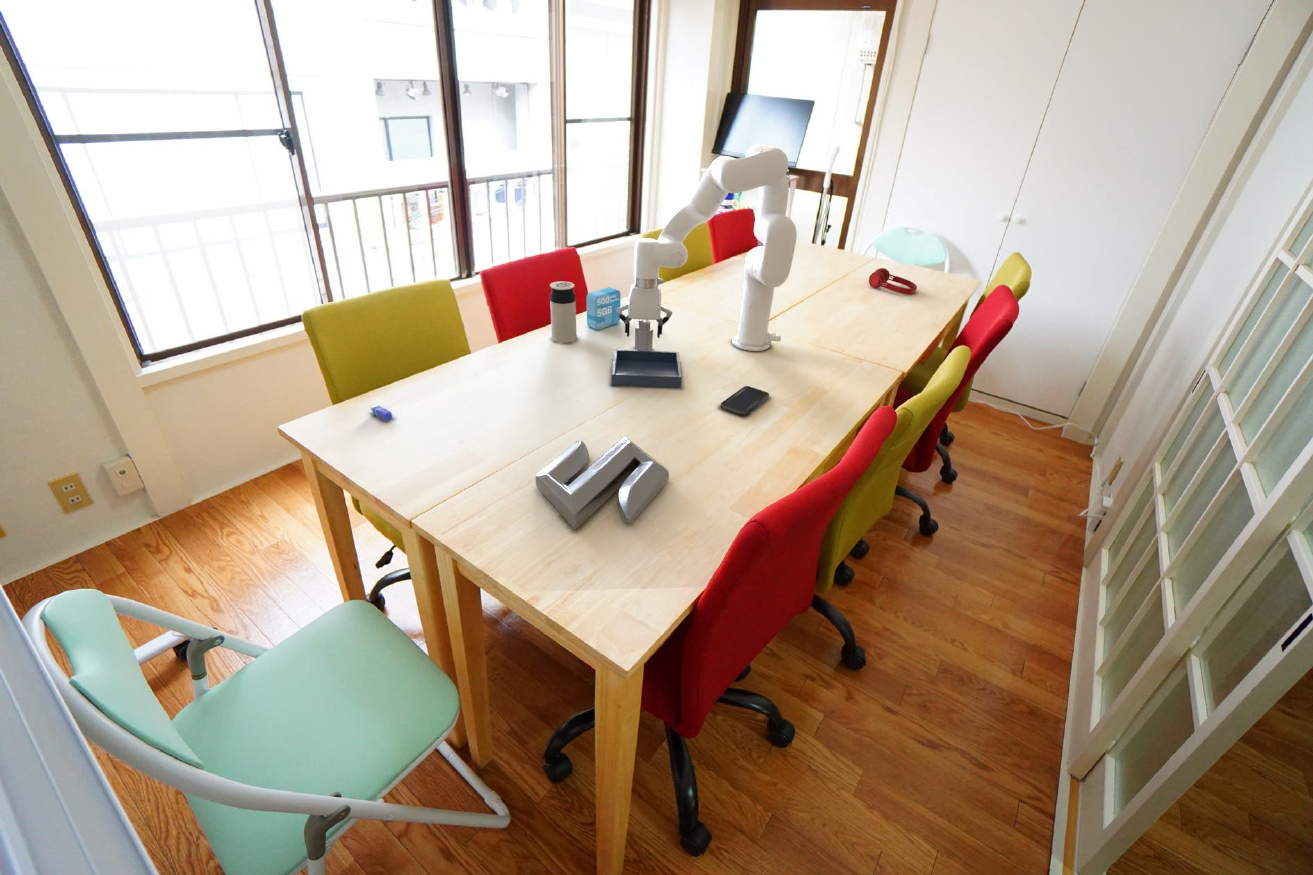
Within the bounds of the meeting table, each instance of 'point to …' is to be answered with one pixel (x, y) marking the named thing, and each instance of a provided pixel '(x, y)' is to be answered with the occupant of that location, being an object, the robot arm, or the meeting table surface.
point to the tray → (646, 369)
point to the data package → (603, 308)
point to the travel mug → (563, 312)
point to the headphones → (883, 276)
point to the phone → (744, 401)
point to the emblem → (601, 481)
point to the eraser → (381, 412)
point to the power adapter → (643, 336)
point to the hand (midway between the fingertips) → (643, 335)
